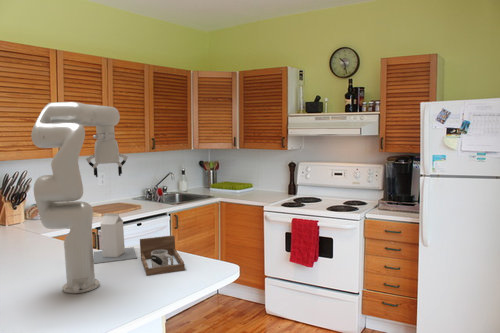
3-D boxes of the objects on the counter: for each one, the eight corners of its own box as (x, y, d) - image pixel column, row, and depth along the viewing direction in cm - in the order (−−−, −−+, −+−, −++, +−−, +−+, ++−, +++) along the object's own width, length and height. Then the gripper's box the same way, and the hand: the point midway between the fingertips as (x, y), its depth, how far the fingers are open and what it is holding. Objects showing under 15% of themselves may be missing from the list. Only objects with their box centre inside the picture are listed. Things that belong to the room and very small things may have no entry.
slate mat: (136, 258, 191) (136, 257, 191) (93, 264, 186) (93, 263, 186) (133, 247, 208) (133, 247, 208) (93, 252, 203) (93, 251, 202)
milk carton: (117, 257, 193) (114, 215, 191) (102, 257, 194) (99, 215, 192) (125, 252, 199) (122, 211, 198) (110, 252, 201) (108, 211, 199)
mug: (148, 269, 177) (147, 253, 176) (159, 264, 183) (158, 248, 182) (168, 272, 172) (167, 256, 172) (178, 267, 178) (177, 251, 177)
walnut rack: (184, 270, 174) (183, 248, 173) (146, 275, 169) (145, 253, 168) (175, 254, 195) (174, 235, 194) (140, 259, 190) (139, 239, 189)
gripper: (84, 138, 185) (87, 178, 186) (126, 136, 190) (129, 175, 192) (85, 138, 192) (87, 176, 193) (125, 136, 197) (128, 174, 199)
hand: (108, 176), depth 193 cm, fingers open, 9 cm apart
